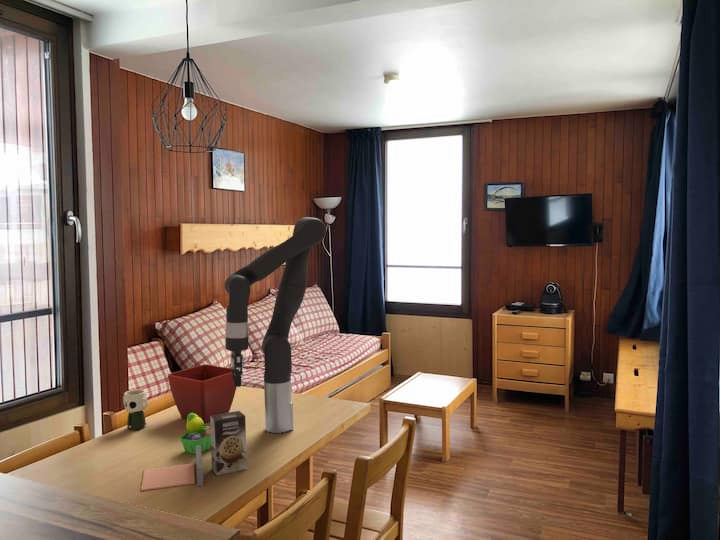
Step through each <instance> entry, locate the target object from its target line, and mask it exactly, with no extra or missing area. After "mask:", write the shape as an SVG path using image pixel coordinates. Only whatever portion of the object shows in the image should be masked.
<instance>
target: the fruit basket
mask: <svg viewBox="0 0 720 540" xmlns="http://www.w3.org/2000/svg"><path fill="white" fill-rule="evenodd" d="M204 424H205V423H204V422H203V420H202V419H201V418H200V417H198V415H196V414H194V413H190V414H188V416H187V419H186V425H185V426H186V430H187V433H185V434H183V435H181V436H179V439H180V442H181V444H182V446H183V447H182V448H183V450H184V452H185V453H189V454H192V455H195V456H196V445H201V453H203V452H205V451H207V450H209V449H210V450H211V426H208V425H207V426H204Z"/></svg>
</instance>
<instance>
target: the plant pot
mask: <svg viewBox="0 0 720 540" xmlns="http://www.w3.org/2000/svg"><path fill="white" fill-rule="evenodd" d="M167 379H168V383H169V384H168V385H169V388H170V391H171V394H172V398H173V401H174V404H175V406H176V408H177V411H178V413H179V415H180V417H181V418H182V419H186V420H187V416H188V414H190V413H194V414H196V415H198V417H200V418H201V419H202V420H203V422H204V424H205V423H208V422H210V415H216V414H222V413H229V412H231V407H232V404H233V401H234V398H235V395H236V391H237V387H235V386H234V380H233V379H232V367H231V368H230V367H225V366H218V365H214V364H213V365H212V364H201V365H197V366H194V367H189V368H186V369H181V370H179V371H175V372H174V371H173V372H172V373H168V374H167Z"/></svg>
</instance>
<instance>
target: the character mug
mask: <svg viewBox="0 0 720 540" xmlns="http://www.w3.org/2000/svg"><path fill="white" fill-rule="evenodd" d="M146 395H147V393H146V390H145V389H131V390H127V391H124V394H123V396H122V397H123V398H122V401H123V405H124V409H125V412H128V414H127V425H126V427H127V429H131V430H138V429H141V428H143V427H145V426H146V425H147V423H146V416H145V412H144V410H146V408H148V407H149V405H148V398H147V396H146Z"/></svg>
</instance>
